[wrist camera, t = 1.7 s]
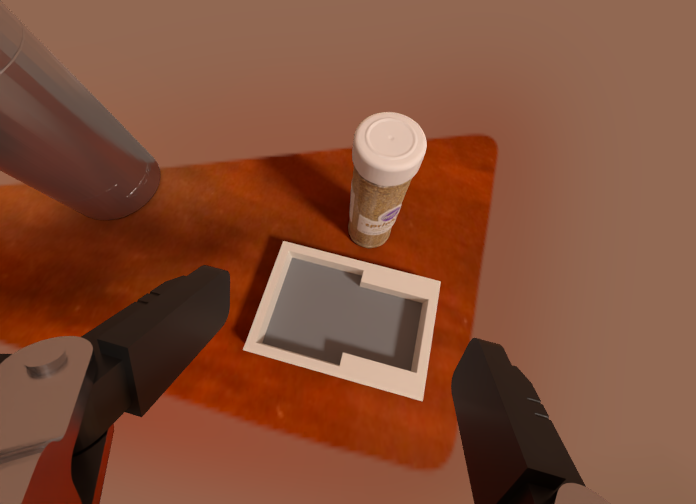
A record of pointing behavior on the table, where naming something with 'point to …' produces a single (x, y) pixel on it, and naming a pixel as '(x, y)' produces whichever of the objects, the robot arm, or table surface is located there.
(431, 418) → the table surface
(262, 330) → the shallow tray
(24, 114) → the robot arm
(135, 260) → the table surface
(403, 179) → the sprinkles bottle
